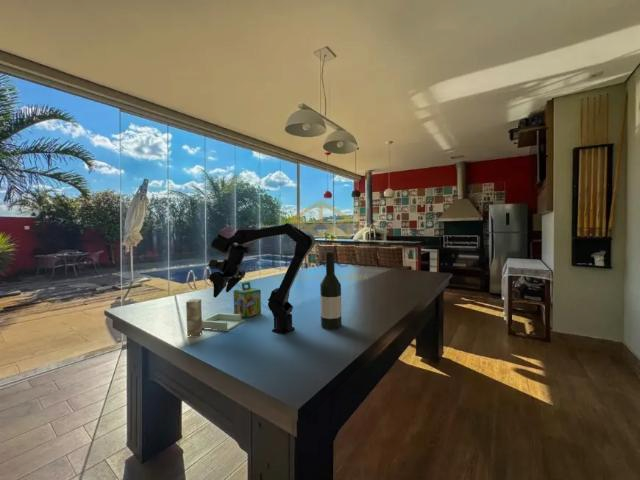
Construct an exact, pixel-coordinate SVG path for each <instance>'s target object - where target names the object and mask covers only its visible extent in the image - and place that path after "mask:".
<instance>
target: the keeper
mask: <svg viewBox="0 0 640 480" xmlns="http://www.w3.org/2000/svg"><path fill="white" fill-rule="evenodd" d="M244 322H245V319H242V317H241V314H234V313H226V312H225V313H224V312H217V313H215V314H212V315H210V316H208V317H206V318H204V319H202V328H211V329H217V330H216V331H219V330H223V331H222V332H229V331H231V330H233V328H235V327H237V326H239V325H240V323H241V324H242V323H244ZM230 329H231V330H230Z"/></svg>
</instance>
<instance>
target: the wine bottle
mask: <svg viewBox="0 0 640 480" xmlns="http://www.w3.org/2000/svg"><path fill="white" fill-rule="evenodd" d="M335 269H336V268H335V252H334V251H333V250H327V251H326V253H325V276H324V277H323V279H322V281H321V283H320V284H319V285H320V286H319V287H320V293H319V294H320V325H321V328H322V329H325V330H338V329H340V328H341V327H342V285H341V283H340V281H339V279H338V278H337V276H336V273H335Z"/></svg>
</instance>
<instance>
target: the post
mask: <svg viewBox="0 0 640 480" xmlns="http://www.w3.org/2000/svg"><path fill="white" fill-rule="evenodd" d="M185 303H186V304H185V307H186V309H185V310H186V332H187V333H186V335H187V336H190V335H191V336H199V335H200V333H201V332H202V333H203V329H202V320H203V317H202V314H203V312H202V299H201V298H197V299H196V298H194V299H193V298H192V299H189V300H187V301H186V302H185ZM202 333H201V334H202ZM187 336H186V337H187ZM200 336H201V335H200ZM200 336H199V337H200Z"/></svg>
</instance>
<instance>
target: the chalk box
mask: <svg viewBox="0 0 640 480" xmlns="http://www.w3.org/2000/svg"><path fill="white" fill-rule="evenodd" d="M245 286H247V287H245ZM261 294H262V293H261V289H259V288H258V289H257V288H253V287H252V288H251V283H250V281H246V282H242V283H241V288H240V289H234V290H233V314H241V318H245V319H248V318H250V317H253V316H257V315H260V313H261V314H262V305H261V303H262V296H261Z"/></svg>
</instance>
